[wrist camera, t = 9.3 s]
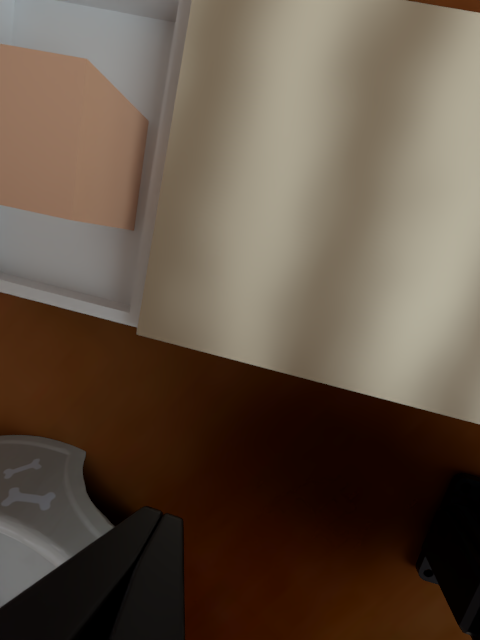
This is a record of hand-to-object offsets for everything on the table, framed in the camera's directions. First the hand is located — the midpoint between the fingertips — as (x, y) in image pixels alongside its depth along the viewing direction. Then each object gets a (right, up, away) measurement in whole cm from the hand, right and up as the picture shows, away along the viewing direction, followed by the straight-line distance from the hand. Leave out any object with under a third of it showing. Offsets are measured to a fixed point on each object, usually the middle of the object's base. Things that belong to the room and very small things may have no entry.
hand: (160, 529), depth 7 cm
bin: (-6, +12, +10) cm, 17 cm away
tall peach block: (-3, +11, +7) cm, 13 cm away
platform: (+7, +9, +9) cm, 14 cm away
